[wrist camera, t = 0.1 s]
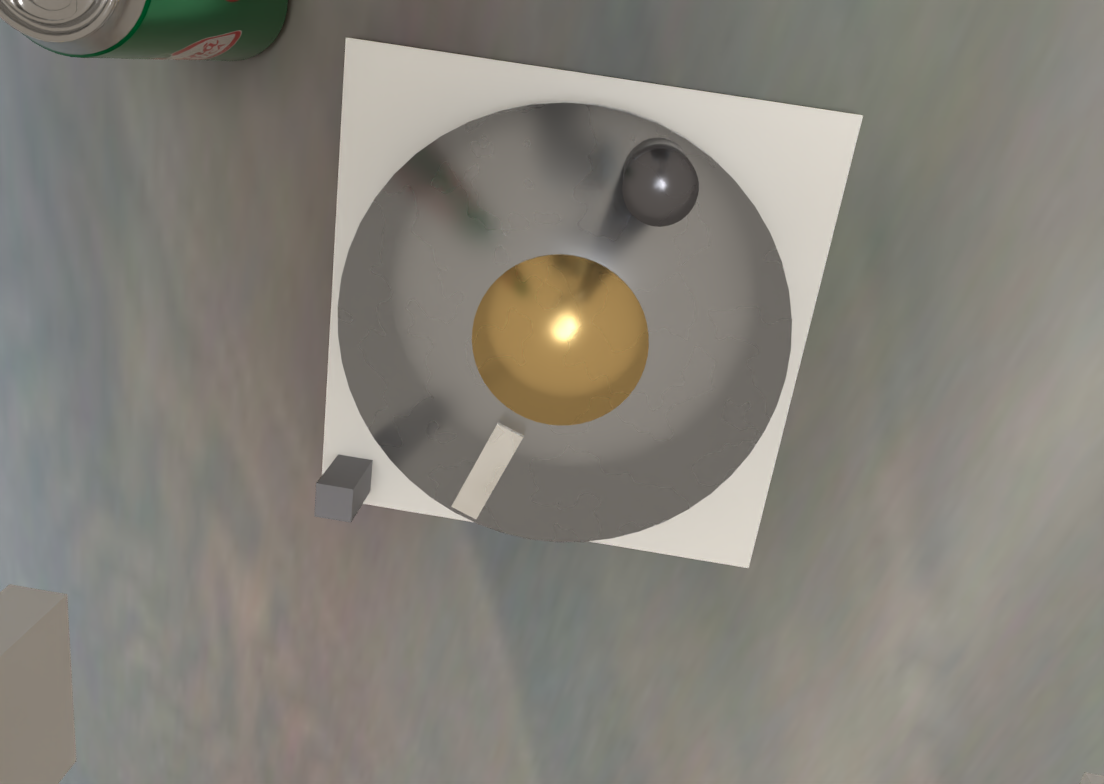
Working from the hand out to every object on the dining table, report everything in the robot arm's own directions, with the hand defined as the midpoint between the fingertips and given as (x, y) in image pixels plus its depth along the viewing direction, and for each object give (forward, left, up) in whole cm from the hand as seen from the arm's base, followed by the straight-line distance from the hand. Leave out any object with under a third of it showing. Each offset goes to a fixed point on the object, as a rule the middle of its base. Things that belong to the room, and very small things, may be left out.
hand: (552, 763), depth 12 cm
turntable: (+2, -1, -26) cm, 27 cm away
